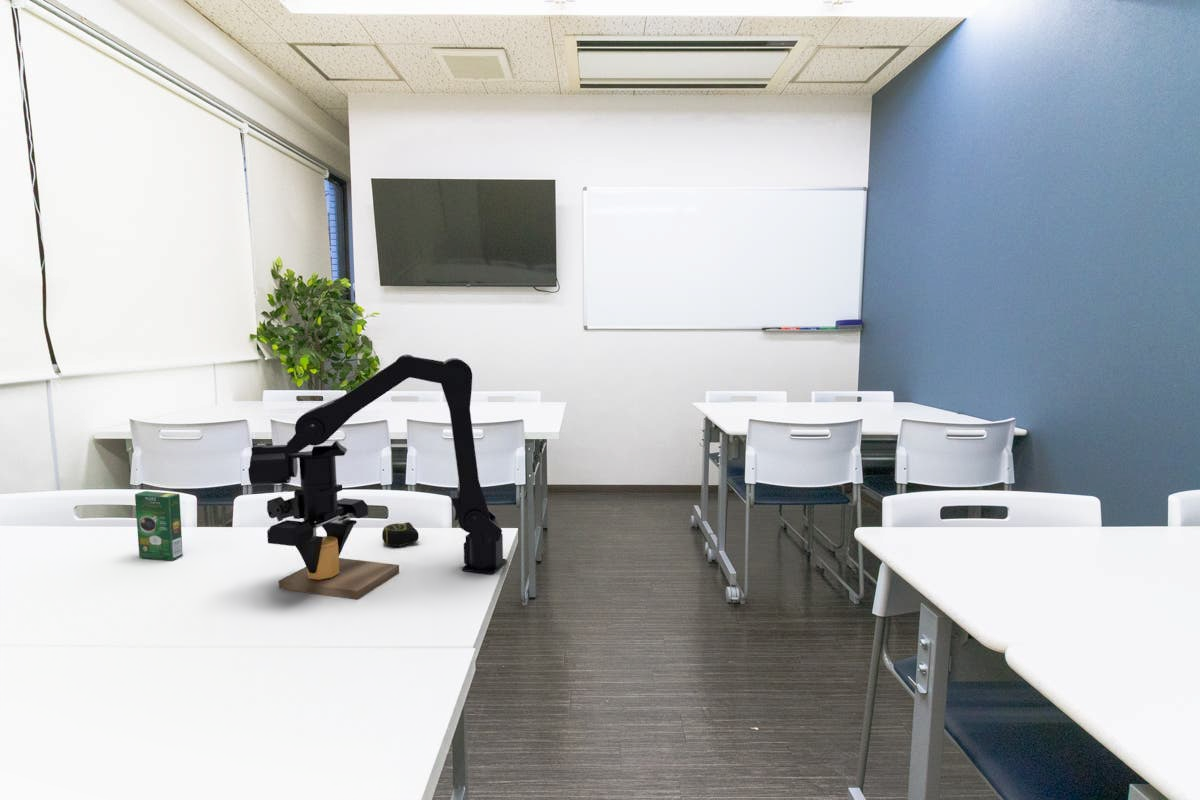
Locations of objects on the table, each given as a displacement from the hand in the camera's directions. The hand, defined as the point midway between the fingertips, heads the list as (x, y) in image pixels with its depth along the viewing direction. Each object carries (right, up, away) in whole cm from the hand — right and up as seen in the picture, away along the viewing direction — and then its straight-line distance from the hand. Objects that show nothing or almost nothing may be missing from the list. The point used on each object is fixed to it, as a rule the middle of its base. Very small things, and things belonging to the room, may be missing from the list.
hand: (323, 567), depth 110 cm
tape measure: (+7, -1, +22) cm, 23 cm away
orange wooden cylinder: (0, -1, 0) cm, 1 cm away
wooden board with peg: (+2, -3, +2) cm, 4 cm away
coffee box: (-38, -2, +13) cm, 40 cm away
